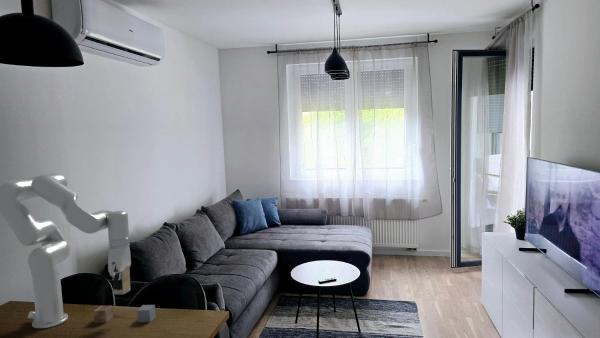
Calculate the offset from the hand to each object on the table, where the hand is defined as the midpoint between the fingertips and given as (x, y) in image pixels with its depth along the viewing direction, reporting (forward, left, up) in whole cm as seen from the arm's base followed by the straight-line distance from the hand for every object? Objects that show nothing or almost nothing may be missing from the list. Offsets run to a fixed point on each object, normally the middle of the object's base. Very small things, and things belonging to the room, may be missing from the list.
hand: (122, 286), depth 167 cm
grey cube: (+9, 0, -14) cm, 17 cm away
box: (0, 0, -3) cm, 3 cm away
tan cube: (-9, 0, -14) cm, 17 cm away
